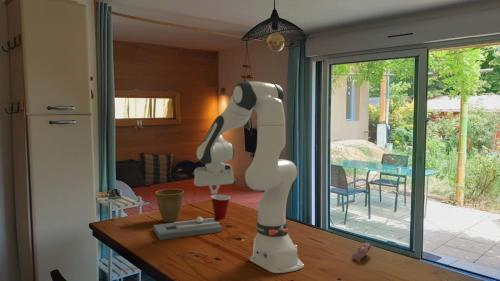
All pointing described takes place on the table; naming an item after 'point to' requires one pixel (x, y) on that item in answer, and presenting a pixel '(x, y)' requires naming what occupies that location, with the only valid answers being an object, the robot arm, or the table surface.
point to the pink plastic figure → (361, 251)
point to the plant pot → (170, 203)
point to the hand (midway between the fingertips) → (214, 193)
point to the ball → (199, 220)
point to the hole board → (186, 228)
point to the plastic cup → (220, 205)
